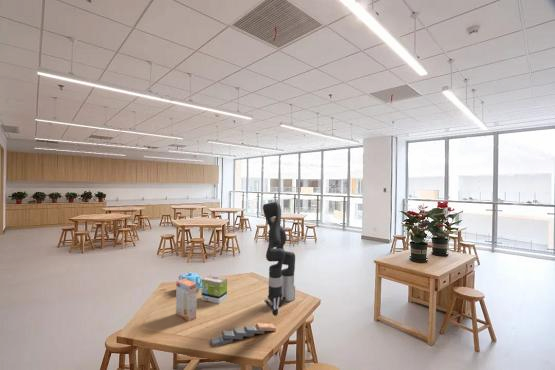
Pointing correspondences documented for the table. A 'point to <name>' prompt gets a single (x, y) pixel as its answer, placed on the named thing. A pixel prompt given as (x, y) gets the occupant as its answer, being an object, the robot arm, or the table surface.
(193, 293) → the cracker box
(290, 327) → the table surface
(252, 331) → the domino
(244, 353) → the table surface
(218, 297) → the tea box
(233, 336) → the domino
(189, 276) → the decorative pot
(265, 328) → the domino
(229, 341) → the domino
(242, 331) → the domino
